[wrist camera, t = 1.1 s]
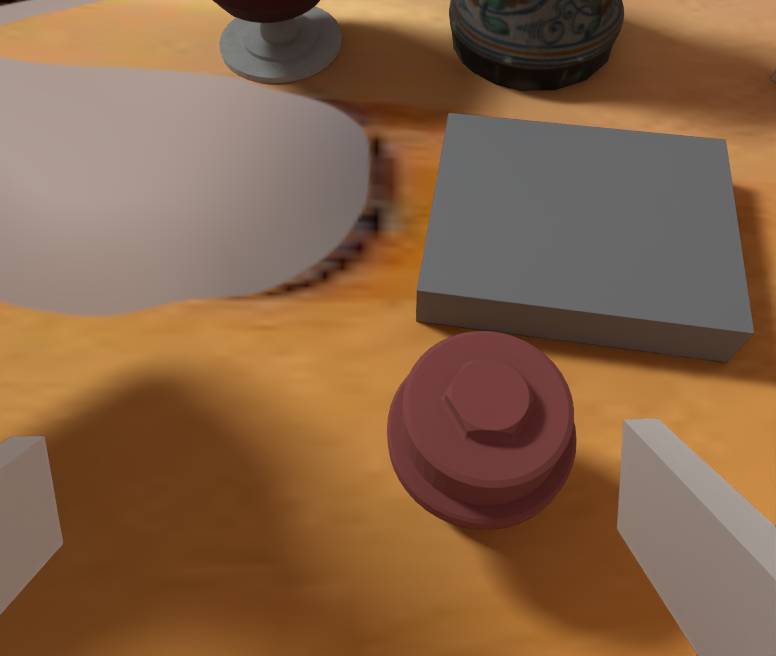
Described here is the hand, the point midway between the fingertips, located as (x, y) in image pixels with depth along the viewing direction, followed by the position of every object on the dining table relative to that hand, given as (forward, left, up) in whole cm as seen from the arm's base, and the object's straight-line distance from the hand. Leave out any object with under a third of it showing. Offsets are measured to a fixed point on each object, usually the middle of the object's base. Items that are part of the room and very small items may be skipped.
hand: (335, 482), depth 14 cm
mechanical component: (+4, +9, -26) cm, 28 cm away
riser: (+10, +29, -26) cm, 40 cm away
